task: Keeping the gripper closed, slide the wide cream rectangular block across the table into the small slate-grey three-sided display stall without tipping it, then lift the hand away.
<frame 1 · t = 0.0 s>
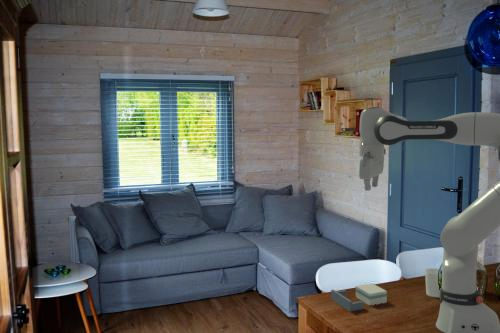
hand: (371, 188, 183), 48 cm above the table, tool pointing down, fingers open, 8 cm apart
cream rectangular block: (370, 300, 201), on the table
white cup: (434, 295, 205), on the table
display stall: (354, 302, 198), on the table
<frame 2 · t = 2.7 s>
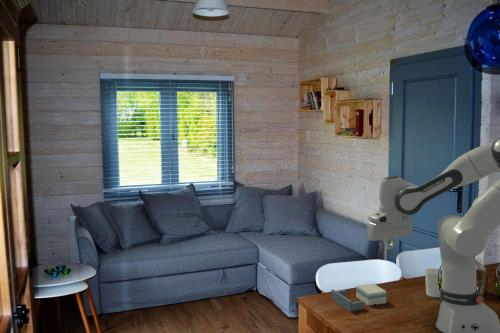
hand: (389, 248, 202), 20 cm above the table, tool pointing down, fingers closed
nothing on the table moved.
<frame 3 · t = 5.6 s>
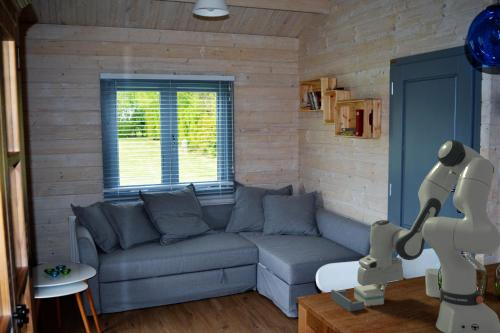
hand: (380, 292, 203), 2 cm above the table, tool pointing down, fingers closed
cream rectangular block: (368, 301, 201), on the table, touching gripper
everything else where it was.
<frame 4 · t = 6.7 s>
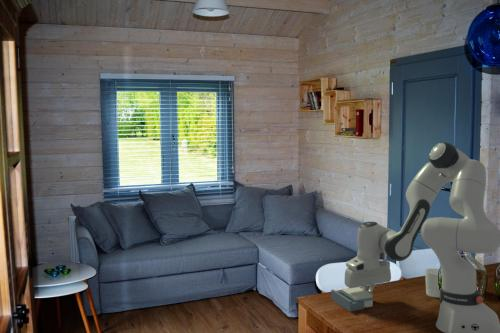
hand: (368, 295, 201), 2 cm above the table, tool pointing down, fingers closed
cream rectangular block: (356, 304, 198), on the table
everything else where it was.
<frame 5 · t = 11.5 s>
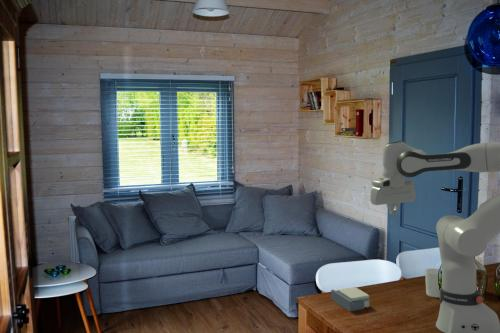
hand: (393, 213, 204), 34 cm above the table, tool pointing down, fingers closed
cream rectangular block: (353, 304, 197), on the table
everything else where it was.
at the end: cream rectangular block inside the target area on the display stall (1.3 cm from its centre), point 0.0 cm above the display stall's base; cream rectangular block tilted 0° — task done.
